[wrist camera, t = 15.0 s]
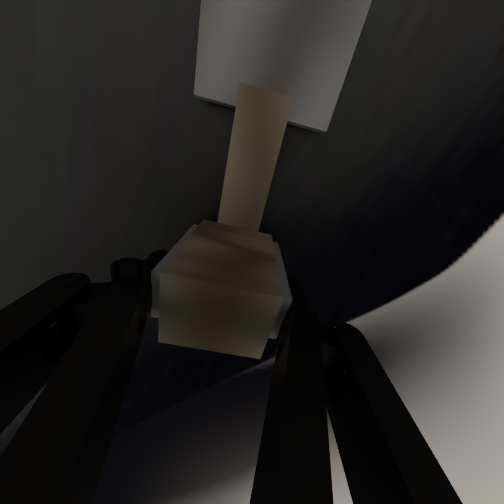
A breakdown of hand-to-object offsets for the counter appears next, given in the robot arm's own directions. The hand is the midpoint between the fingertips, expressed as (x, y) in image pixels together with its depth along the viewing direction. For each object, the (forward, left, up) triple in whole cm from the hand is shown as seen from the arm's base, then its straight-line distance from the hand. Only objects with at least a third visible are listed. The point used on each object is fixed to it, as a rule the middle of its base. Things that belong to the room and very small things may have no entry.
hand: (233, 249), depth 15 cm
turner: (0, +3, -1) cm, 4 cm away
